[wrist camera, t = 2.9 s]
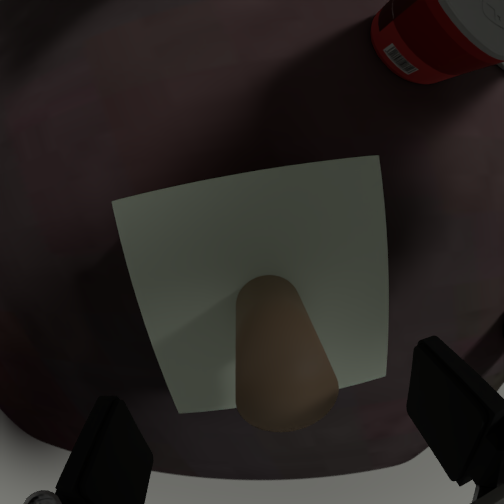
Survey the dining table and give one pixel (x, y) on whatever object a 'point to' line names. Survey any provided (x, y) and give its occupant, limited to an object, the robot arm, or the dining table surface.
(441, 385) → the robot arm
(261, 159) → the dining table surface
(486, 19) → the canned food
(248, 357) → the lid
